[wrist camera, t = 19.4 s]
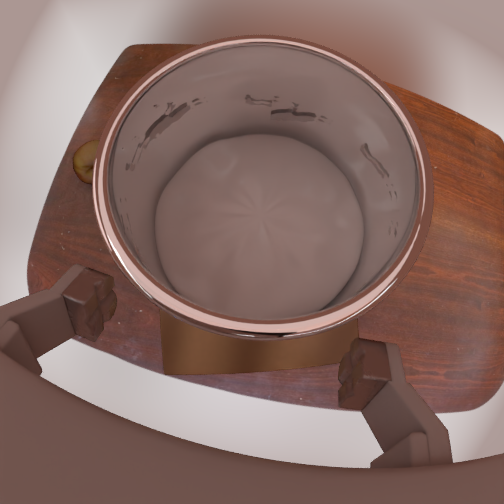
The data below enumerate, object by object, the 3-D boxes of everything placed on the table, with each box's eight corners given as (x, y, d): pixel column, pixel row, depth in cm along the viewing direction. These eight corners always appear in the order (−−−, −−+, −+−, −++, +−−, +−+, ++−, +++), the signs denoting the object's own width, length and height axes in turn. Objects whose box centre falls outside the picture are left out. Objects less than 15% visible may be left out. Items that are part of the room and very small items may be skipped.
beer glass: (198, 225, 20) (110, 51, 6) (301, 216, 20) (383, 37, 6) (205, 330, 19) (78, 360, 4) (313, 320, 19) (473, 317, 4)
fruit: (82, 192, 51) (61, 174, 43) (91, 154, 53) (73, 134, 45) (116, 189, 51) (97, 170, 43) (123, 151, 53) (108, 128, 45)
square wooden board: (167, 372, 19) (163, 374, 18) (162, 192, 22) (159, 187, 21) (355, 358, 19) (360, 360, 18) (335, 182, 22) (338, 176, 21)
